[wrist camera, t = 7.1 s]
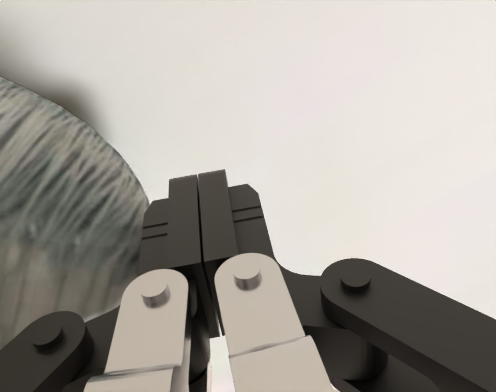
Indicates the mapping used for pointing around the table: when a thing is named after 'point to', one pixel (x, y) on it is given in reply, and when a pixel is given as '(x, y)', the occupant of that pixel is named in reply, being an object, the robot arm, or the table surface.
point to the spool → (61, 214)
